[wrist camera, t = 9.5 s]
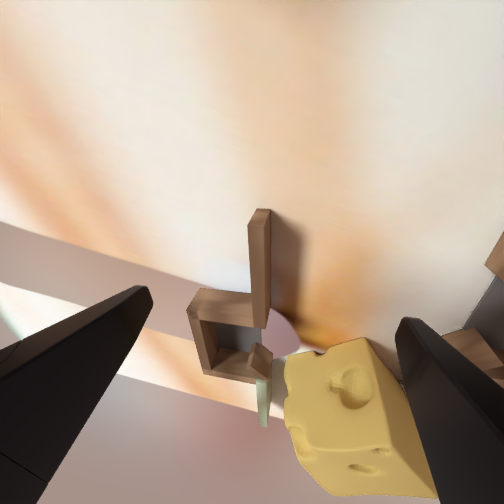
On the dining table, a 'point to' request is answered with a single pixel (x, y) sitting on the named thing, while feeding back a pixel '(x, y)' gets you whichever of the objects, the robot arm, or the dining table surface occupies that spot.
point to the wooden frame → (257, 310)
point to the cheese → (354, 424)
